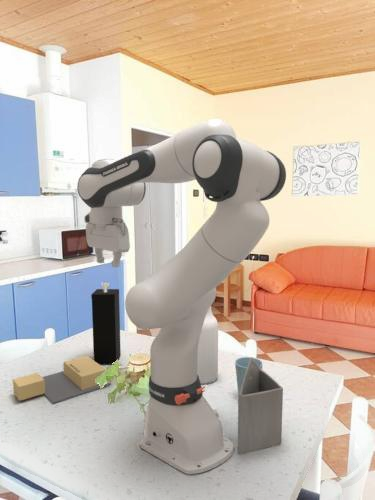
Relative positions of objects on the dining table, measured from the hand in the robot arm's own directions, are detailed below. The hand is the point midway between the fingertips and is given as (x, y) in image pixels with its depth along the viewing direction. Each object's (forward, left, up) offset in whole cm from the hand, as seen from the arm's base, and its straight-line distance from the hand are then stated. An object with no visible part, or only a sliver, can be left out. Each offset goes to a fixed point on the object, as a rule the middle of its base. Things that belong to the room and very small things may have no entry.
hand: (107, 264), depth 116 cm
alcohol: (-14, -25, -37) cm, 47 cm away
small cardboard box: (+9, +21, -36) cm, 43 cm away
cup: (-31, -27, -37) cm, 56 cm away
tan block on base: (+9, +9, -37) cm, 39 cm away
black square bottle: (+18, -8, -37) cm, 42 cm away
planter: (-47, -15, -37) cm, 62 cm away
